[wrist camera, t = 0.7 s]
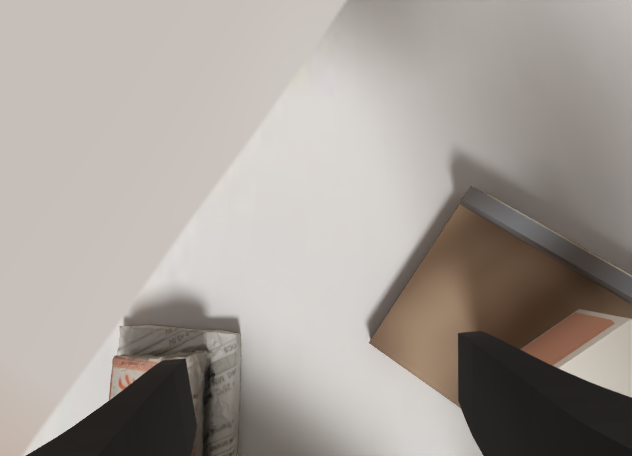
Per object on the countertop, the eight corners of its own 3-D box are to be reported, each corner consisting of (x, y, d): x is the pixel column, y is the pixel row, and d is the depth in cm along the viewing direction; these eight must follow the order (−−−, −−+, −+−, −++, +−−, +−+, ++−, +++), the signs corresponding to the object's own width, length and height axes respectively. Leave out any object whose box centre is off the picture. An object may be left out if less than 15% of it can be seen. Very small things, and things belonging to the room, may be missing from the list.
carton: (639, 379, 26) (715, 414, 20) (538, 445, 27) (578, 501, 20) (576, 306, 28) (628, 315, 21) (481, 371, 28) (501, 400, 22)
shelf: (706, 329, 27) (741, 335, 24) (592, 497, 27) (613, 523, 24) (467, 192, 31) (472, 183, 28) (370, 340, 31) (365, 346, 28)
